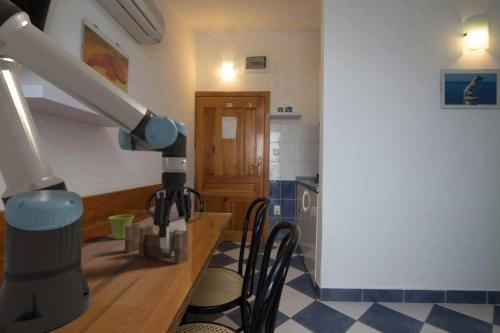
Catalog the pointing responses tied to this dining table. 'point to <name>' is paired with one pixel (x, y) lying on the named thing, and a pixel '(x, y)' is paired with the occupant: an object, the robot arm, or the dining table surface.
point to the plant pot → (120, 225)
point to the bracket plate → (174, 230)
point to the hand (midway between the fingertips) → (173, 244)
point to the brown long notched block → (155, 243)
